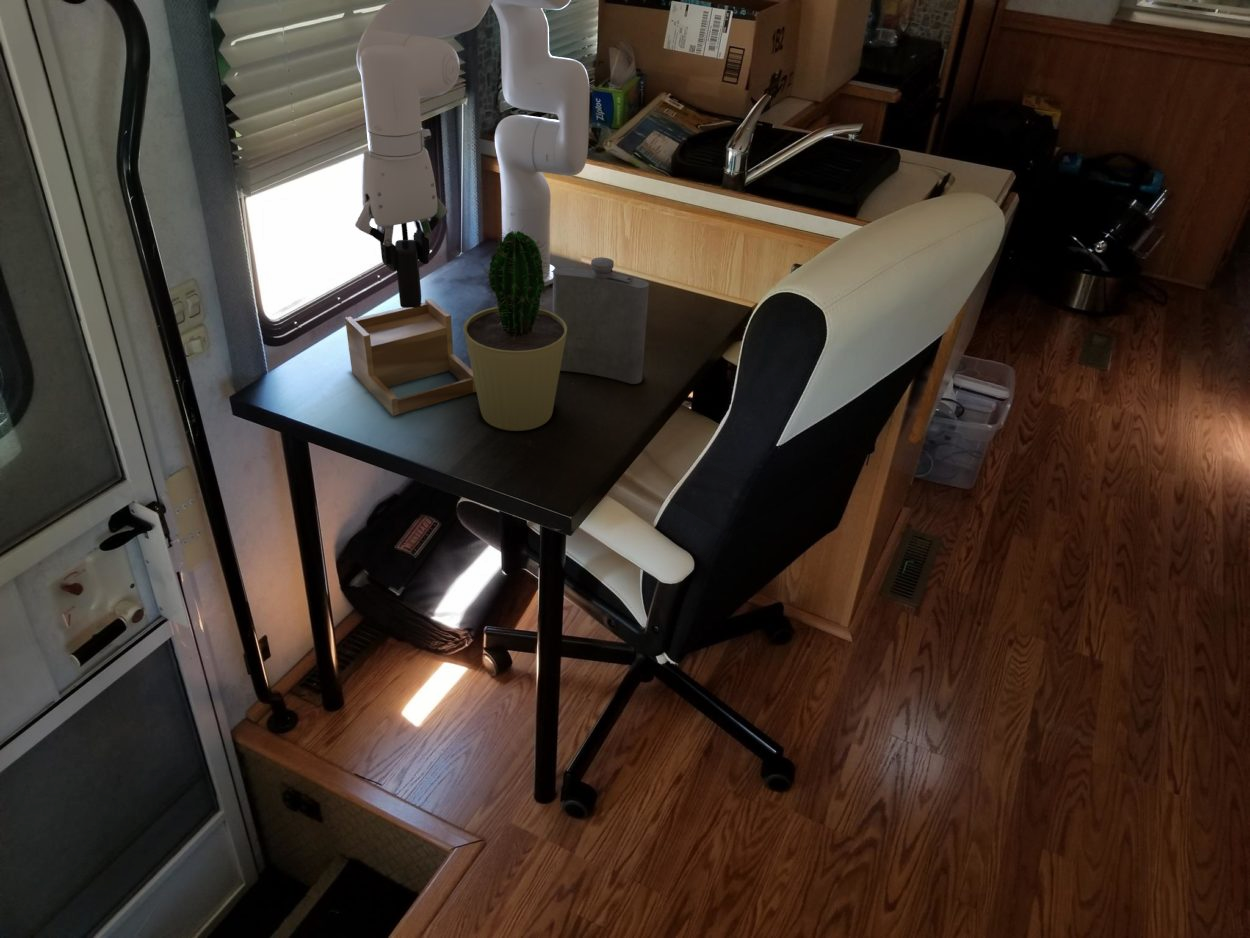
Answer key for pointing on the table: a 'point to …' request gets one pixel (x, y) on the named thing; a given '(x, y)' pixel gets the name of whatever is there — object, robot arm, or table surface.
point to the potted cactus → (516, 340)
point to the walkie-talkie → (408, 271)
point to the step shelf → (406, 355)
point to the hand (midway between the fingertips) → (406, 263)
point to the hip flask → (602, 320)
